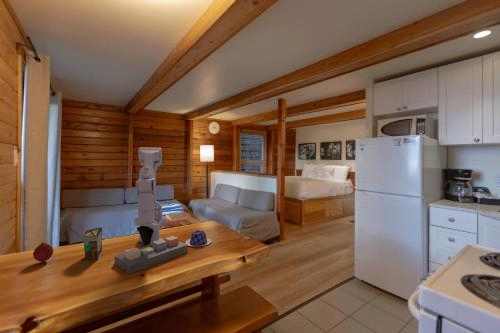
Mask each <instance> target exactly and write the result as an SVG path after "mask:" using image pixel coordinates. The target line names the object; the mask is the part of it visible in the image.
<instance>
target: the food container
mask: <svg viewBox="0 0 500 333" xmlns="http://www.w3.org/2000/svg"><path fill="white" fill-rule="evenodd" d="M80 239H81V241H83V243H82V244H83V250H84V257H85V258H84V259H85V260H87V261H98V260H99V259H100V256H101V254H102V252H103V227H102V226H101V227H94V228H89V229H87V230H84V231H83V232H82V234H81V236H80Z"/></svg>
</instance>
